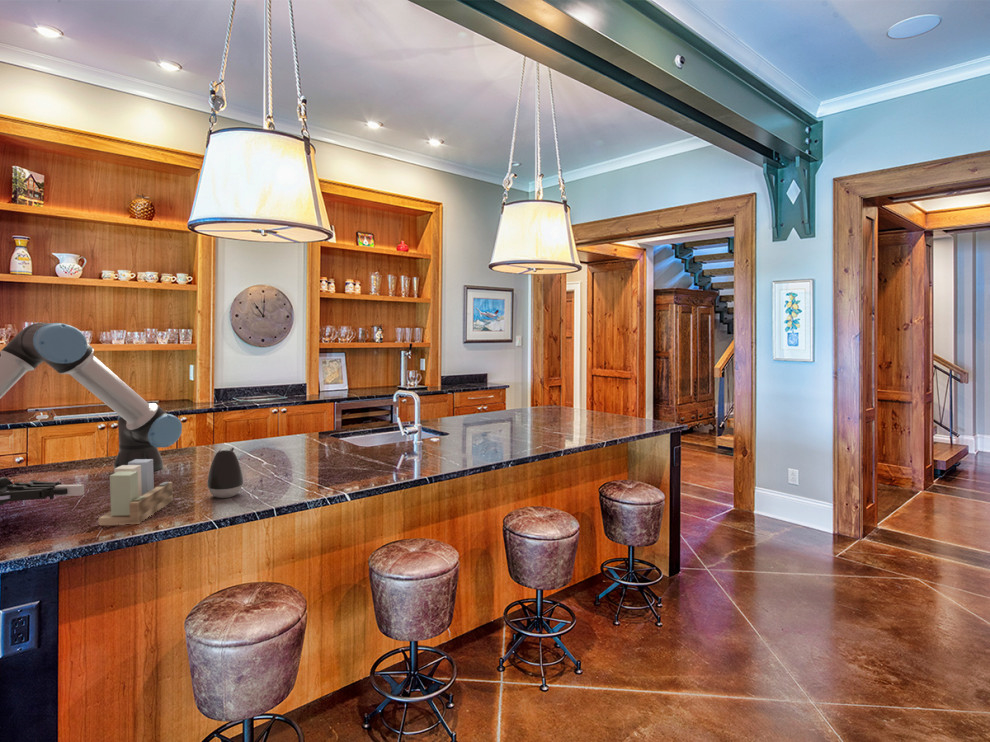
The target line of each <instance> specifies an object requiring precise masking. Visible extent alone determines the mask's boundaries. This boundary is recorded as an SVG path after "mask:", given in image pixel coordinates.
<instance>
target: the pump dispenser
mask: <svg viewBox="0 0 990 742" xmlns="http://www.w3.org/2000/svg"><path fill="white" fill-rule="evenodd" d="M234 449H235V448H234V447H231V448H230V447H229V448H227V447H226V448H221V449H219V450H218V451H217V452H216V453H215V455H214V456H213V459H212V461H211V465H210V468H209V471H208V476H207V482H206V483H207V488H208V490H209V492H210V493H211V495H212V496H213V497H215V498H219V499H228V498H232V497H234V496H237V495H238V494H239V492H240V491H241V490H242V487H243V484H244V476H243V471H242V468H241V463H240V461H239V458H238V456H237V454H236V453H235V452H234Z"/></svg>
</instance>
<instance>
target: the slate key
mask: <svg viewBox="0 0 990 742" xmlns="http://www.w3.org/2000/svg"><path fill="white" fill-rule="evenodd" d="M128 465H141V485H142V495H144V494H146V493H147V492H149V491H151V490H152V489H154V488H155V482H154V481H155V480H154V478H155V477H154V476H155V475H154V473H155V472H154V471H153V459H135V460H133V461H130V462H128Z"/></svg>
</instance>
